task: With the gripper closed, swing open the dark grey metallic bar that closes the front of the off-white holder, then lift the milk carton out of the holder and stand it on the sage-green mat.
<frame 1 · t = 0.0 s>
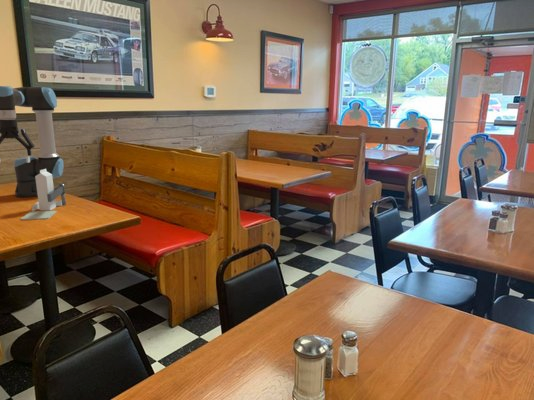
hand: (13, 162, 204), 28 cm above the table, tool pointing down, fingers open, 13 cm apart
dark grey metallic bar: (56, 192, 222), point 10 cm above the table, hinge at 0.0°
holder: (47, 208, 225), on the table
mat: (39, 215, 213), on the table
milk: (47, 209, 225), on the table
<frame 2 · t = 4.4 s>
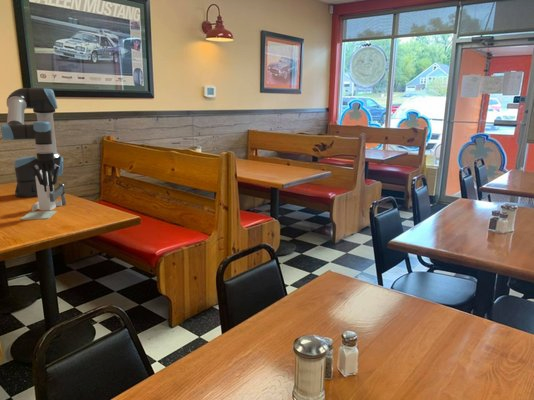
hand: (49, 197, 213), 9 cm above the table, tool pointing down, fingers closed
dark grey metallic bar: (57, 192, 222), point 10 cm above the table, hinge at 3.0°, touching gripper
everything else where it was.
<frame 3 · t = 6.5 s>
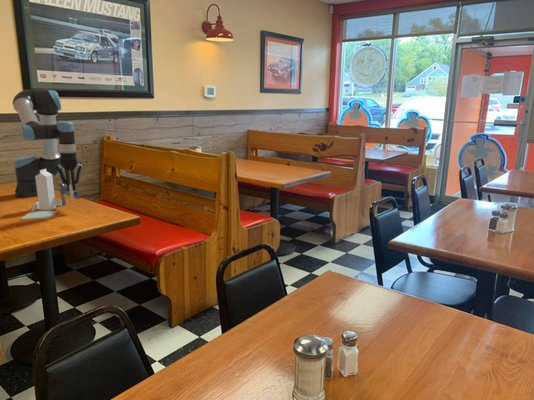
hand: (72, 196, 217), 9 cm above the table, tool pointing down, fingers closed
dark grey metallic bar: (69, 191, 225), point 10 cm above the table, hinge at 36.7°, touching gripper
everything else where it was.
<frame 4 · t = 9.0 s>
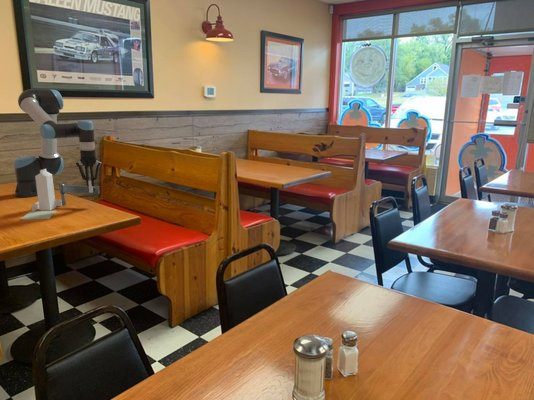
hand: (91, 192, 227), 9 cm above the table, tool pointing down, fingers closed
dark grey metallic bar: (79, 189, 231), point 9 cm above the table, hinge at 73.2°, touching gripper
everything else where it was.
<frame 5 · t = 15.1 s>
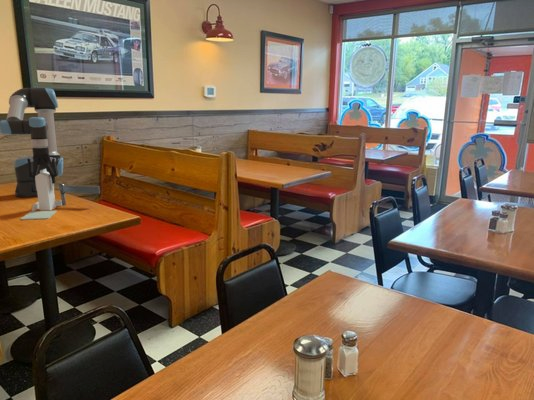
hand: (45, 189, 223), 11 cm above the table, tool pointing down, fingers closed on milk, 7 cm apart
dark grey metallic bar: (79, 189, 231), point 9 cm above the table, hinge at 74.9°
milk: (47, 209, 225), on the table, touching gripper
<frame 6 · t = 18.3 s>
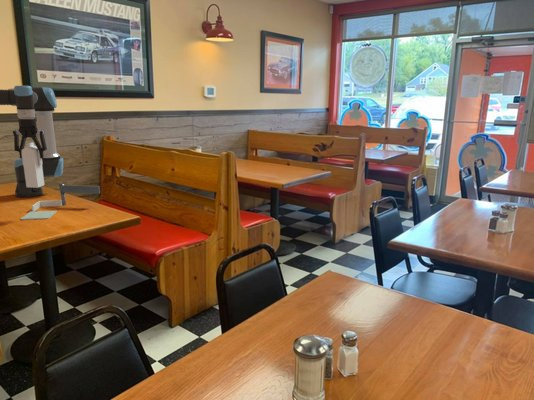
hand: (32, 164, 206), 27 cm above the table, tool pointing down, fingers closed on milk, 7 cm apart
milk: (35, 186, 209), point 15 cm above the table, touching gripper
everything else where it was.
when the fingers open (13 cm above the table, at t = 21.8 s): milk stays where it is, resting on mat.
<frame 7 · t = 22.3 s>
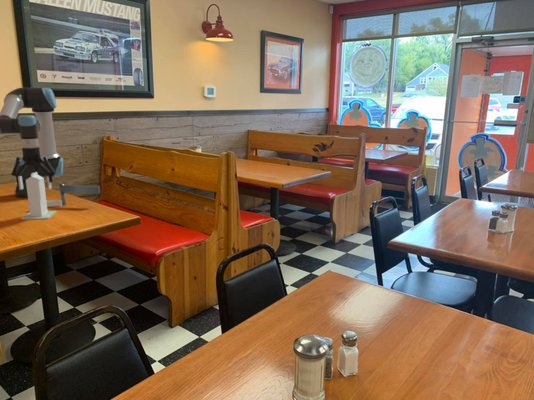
hand: (35, 188, 209), 14 cm above the table, tool pointing down, fingers open, 13 cm apart
milk: (39, 214, 213), resting on mat
everything else where it was.
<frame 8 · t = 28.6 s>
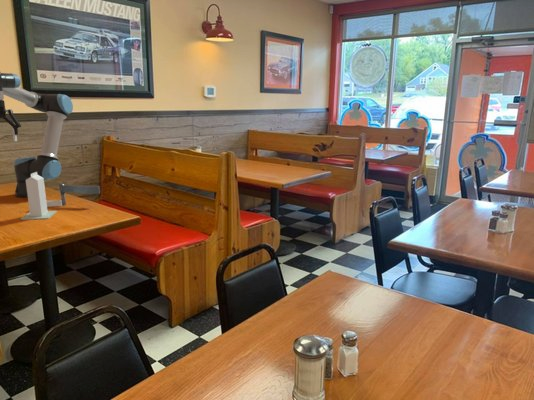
hand: (1, 141, 217), 37 cm above the table, tool pointing down, fingers open, 13 cm apart
nothing on the table moved.
at the end: milk inside the target area on the mat (0.1 cm from its centre), point 0.4 cm above the mat's base; milk tilted 0°; dark grey metallic bar at +75° (first picture: +0°) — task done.
